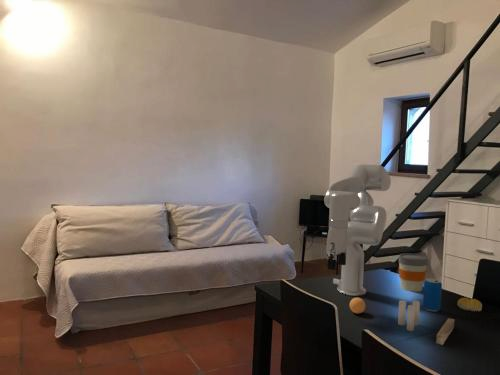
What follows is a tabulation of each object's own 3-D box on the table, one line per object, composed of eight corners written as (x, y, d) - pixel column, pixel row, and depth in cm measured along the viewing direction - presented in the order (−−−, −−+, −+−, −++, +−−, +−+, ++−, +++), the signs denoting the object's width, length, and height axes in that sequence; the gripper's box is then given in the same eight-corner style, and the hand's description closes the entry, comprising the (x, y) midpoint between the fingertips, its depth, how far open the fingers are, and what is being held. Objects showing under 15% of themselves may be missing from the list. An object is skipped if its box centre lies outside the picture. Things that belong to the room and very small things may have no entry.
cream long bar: (436, 343, 143) (436, 334, 142) (447, 326, 157) (448, 318, 157) (442, 345, 142) (443, 336, 141) (453, 327, 156) (454, 319, 156)
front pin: (397, 324, 158) (398, 301, 157) (399, 322, 160) (400, 299, 159) (403, 326, 157) (405, 303, 156) (405, 323, 158) (407, 301, 158)
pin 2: (410, 324, 158) (411, 301, 157) (412, 322, 160) (413, 300, 159) (417, 326, 157) (418, 303, 156) (419, 324, 159) (420, 301, 158)
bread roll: (458, 303, 182) (459, 293, 182) (482, 307, 178) (483, 298, 177) (455, 309, 175) (456, 299, 175) (480, 313, 171) (481, 304, 170)
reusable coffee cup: (425, 286, 204) (427, 254, 202) (426, 294, 192) (428, 261, 190) (397, 282, 208) (398, 252, 206) (396, 290, 196) (398, 258, 195)
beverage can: (441, 313, 170) (443, 283, 169) (424, 311, 171) (426, 281, 170) (438, 307, 176) (440, 278, 175) (421, 305, 178) (423, 277, 177)
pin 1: (405, 329, 153) (407, 306, 152) (407, 327, 155) (409, 304, 154) (412, 331, 152) (414, 308, 151) (414, 329, 154) (416, 306, 153)
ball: (346, 313, 167) (347, 298, 167) (352, 309, 172) (353, 294, 172) (361, 317, 164) (362, 301, 163) (367, 312, 169) (368, 297, 168)
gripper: (338, 220, 180) (336, 261, 181) (320, 225, 166) (318, 269, 167) (355, 222, 175) (354, 264, 177) (338, 228, 161) (336, 273, 163)
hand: (336, 266), depth 172 cm, fingers open, 9 cm apart
